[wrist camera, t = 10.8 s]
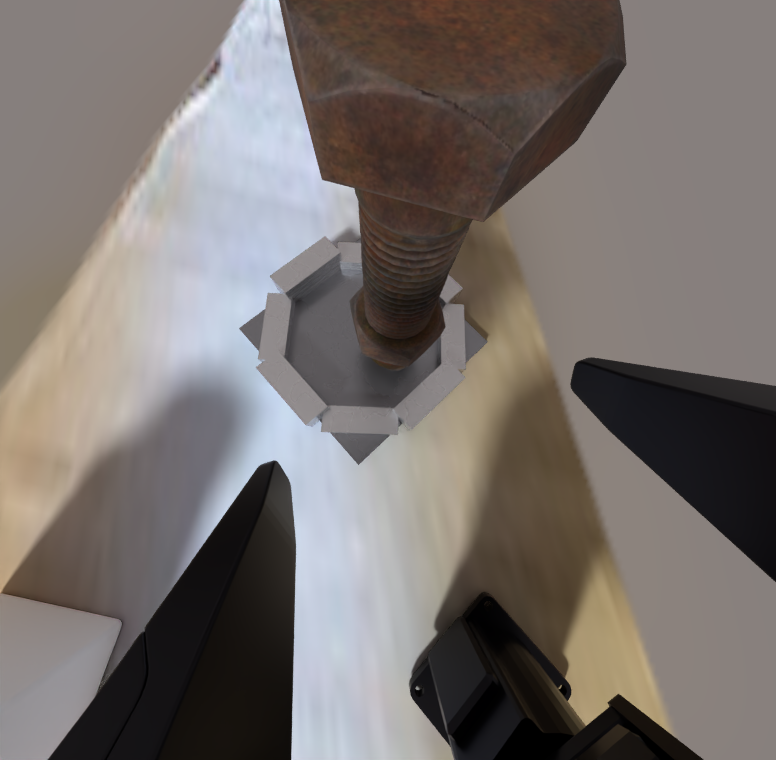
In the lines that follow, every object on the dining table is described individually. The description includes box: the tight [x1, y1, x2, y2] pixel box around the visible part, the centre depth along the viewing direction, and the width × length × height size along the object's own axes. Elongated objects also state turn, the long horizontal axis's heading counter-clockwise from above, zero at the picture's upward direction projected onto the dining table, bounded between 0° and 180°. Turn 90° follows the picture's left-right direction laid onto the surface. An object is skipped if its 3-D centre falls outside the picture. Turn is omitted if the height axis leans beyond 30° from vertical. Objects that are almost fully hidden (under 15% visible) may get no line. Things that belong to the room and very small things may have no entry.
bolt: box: [279, 0, 626, 371], centre depth 11 cm, size 6×5×15 cm
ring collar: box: [239, 237, 487, 465], centre depth 18 cm, size 13×13×2 cm
